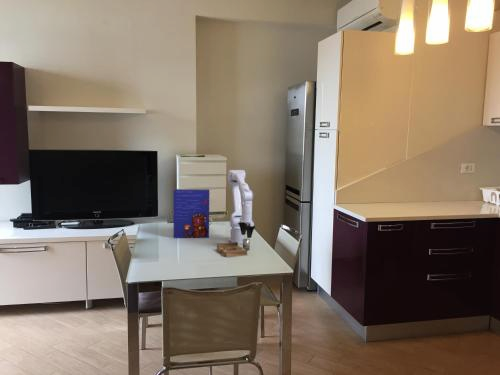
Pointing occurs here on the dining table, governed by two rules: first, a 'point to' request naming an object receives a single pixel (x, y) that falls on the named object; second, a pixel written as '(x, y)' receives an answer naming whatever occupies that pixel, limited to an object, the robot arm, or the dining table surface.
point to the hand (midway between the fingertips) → (246, 236)
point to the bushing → (246, 244)
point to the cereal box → (191, 213)
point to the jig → (231, 249)
